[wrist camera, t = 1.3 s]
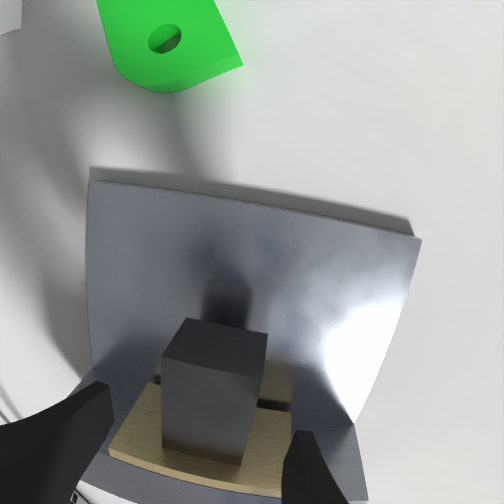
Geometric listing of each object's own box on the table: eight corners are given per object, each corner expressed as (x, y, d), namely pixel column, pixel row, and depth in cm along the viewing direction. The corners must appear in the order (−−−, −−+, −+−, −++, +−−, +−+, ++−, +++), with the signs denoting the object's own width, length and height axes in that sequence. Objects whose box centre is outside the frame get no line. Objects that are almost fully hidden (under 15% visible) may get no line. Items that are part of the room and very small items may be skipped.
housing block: (329, 456, 20) (336, 534, 13) (106, 408, 21) (62, 471, 14) (415, 236, 15) (492, 281, 8) (98, 180, 16) (4, 193, 9)
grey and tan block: (273, 461, 19) (267, 529, 13) (150, 434, 19) (121, 494, 13) (317, 330, 16) (329, 408, 10) (148, 296, 16) (91, 354, 10)
